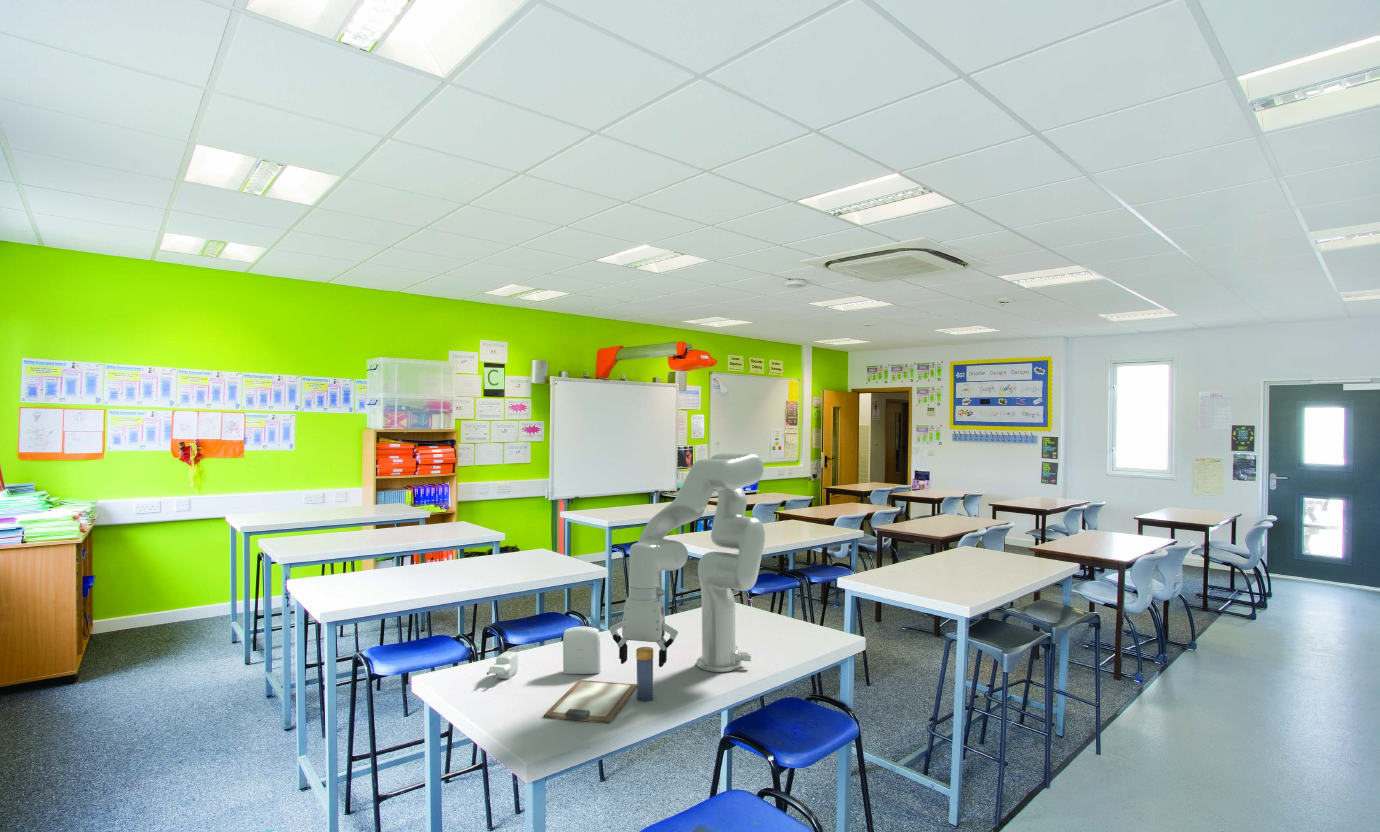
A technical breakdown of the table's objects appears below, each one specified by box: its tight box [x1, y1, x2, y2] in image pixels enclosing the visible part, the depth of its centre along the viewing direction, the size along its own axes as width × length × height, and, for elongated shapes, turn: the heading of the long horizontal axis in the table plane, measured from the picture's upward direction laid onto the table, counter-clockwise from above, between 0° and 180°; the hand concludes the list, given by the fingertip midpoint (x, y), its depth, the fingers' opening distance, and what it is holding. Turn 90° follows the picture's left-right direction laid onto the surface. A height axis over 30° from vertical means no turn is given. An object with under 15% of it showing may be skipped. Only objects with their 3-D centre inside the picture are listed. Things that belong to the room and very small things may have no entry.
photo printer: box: [562, 625, 602, 675], centre depth 180 cm, size 10×4×12 cm, turn 89°
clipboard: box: [543, 679, 637, 724], centre depth 160 cm, size 16×22×2 cm
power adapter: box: [486, 650, 519, 680], centre depth 175 cm, size 11×5×6 cm, turn 168°
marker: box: [635, 646, 654, 703], centre depth 161 cm, size 4×4×12 cm
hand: (642, 663), depth 161 cm, fingers open, 9 cm apart
